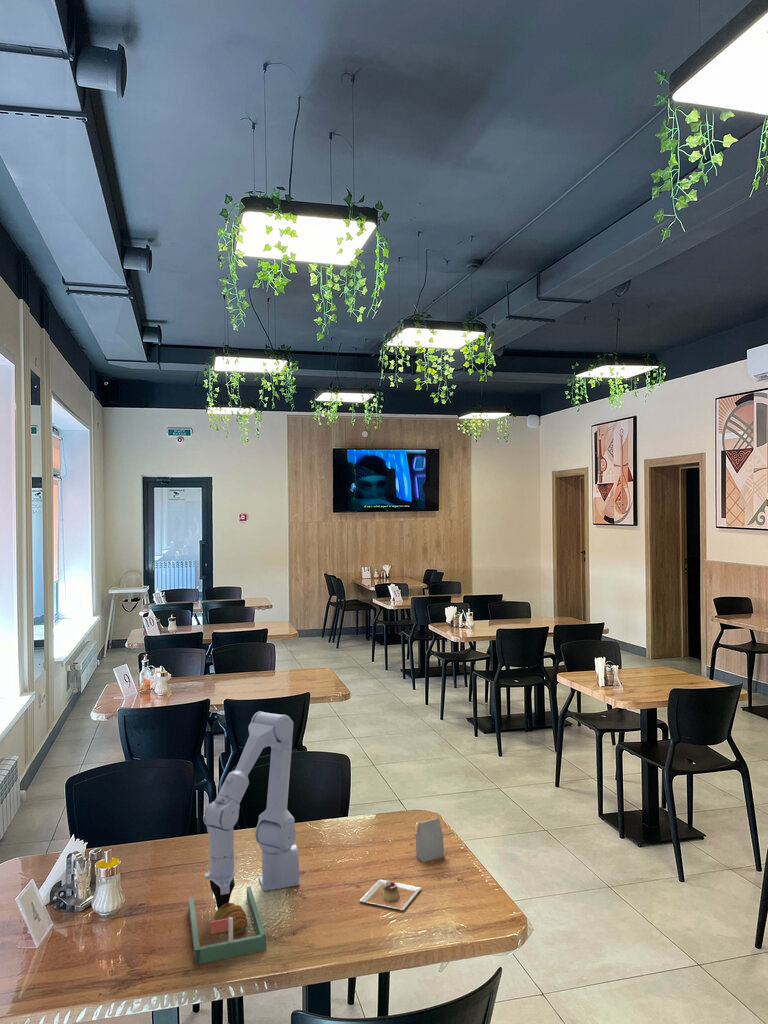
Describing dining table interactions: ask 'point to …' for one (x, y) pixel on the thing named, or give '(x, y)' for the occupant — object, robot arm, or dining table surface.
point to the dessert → (390, 892)
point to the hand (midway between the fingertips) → (222, 911)
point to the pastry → (234, 912)
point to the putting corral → (231, 946)
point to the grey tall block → (429, 840)
